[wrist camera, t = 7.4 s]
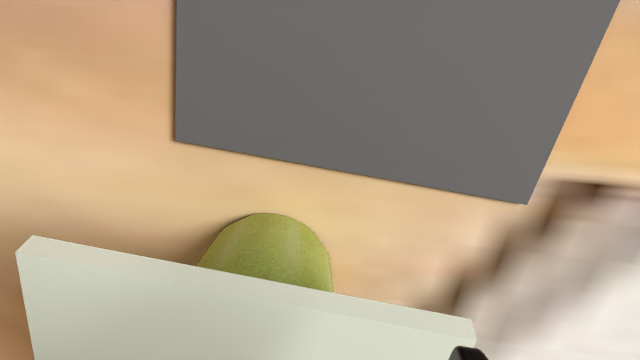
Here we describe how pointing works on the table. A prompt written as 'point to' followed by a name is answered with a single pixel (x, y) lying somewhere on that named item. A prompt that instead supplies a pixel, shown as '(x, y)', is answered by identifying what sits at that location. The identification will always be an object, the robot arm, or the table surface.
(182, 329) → the sage lid
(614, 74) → the table surface
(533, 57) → the gray flat panel
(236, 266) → the plant pot
